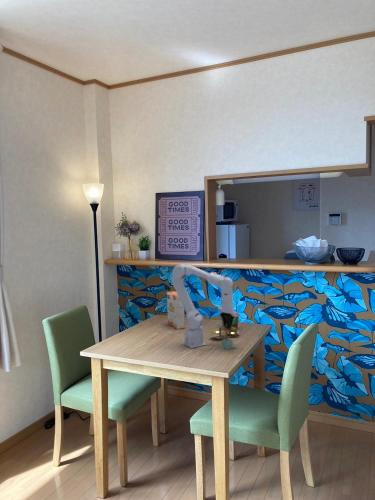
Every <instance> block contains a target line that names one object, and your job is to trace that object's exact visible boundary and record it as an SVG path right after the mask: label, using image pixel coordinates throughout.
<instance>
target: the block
mask: <svg viewBox="0 0 375 500" xmlns="http://www.w3.org/2000/svg"><path fill="white" fill-rule="evenodd" d="M233 344H234V343H233V339H231V338H227V340H226V338H225V339H221V348H222V349H225V350H229V349H233V346H234V345H233Z"/></svg>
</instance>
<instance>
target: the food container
mask: <svg viewBox="0 0 375 500" xmlns="http://www.w3.org/2000/svg"><path fill="white" fill-rule="evenodd" d="M219 312H220V313H222V311H219ZM220 313H219V314H220ZM239 318H240V313H239V312H237V316H235V317H234V319H233V322H232V327H234V328H237V330H238V329H239ZM220 319H221V325H222V326H221V327H224V324H223V320H222V318H220Z"/></svg>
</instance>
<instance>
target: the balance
mask: <svg viewBox="0 0 375 500" xmlns="http://www.w3.org/2000/svg"><path fill="white" fill-rule="evenodd" d="M209 333H211V334H216V336H213V339H215V340H216V341H220V340H221V341H222V340H223V339H226V337H225V331H224V330H221V337H219V328H212V329H210V330H209ZM217 334H218V335H217ZM238 334H240V330H238V329H237V335H238ZM231 338H235V330H231V335H229V331H227V339H231Z"/></svg>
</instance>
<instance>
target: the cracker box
mask: <svg viewBox="0 0 375 500" xmlns="http://www.w3.org/2000/svg"><path fill="white" fill-rule="evenodd" d="M166 303H167V304H166V305H167V306H166V307H167V324H168V325H169V326H171V327H173V328H174V329H176V330H180V329H185V328H186V321H185V320H186V319H185V318H186V317H185V309H184V307H183V305H182V303H181V301H180V298H179V296H178V294H177V292H176V290H175V291H173V290H172V291H167V292H166Z"/></svg>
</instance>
